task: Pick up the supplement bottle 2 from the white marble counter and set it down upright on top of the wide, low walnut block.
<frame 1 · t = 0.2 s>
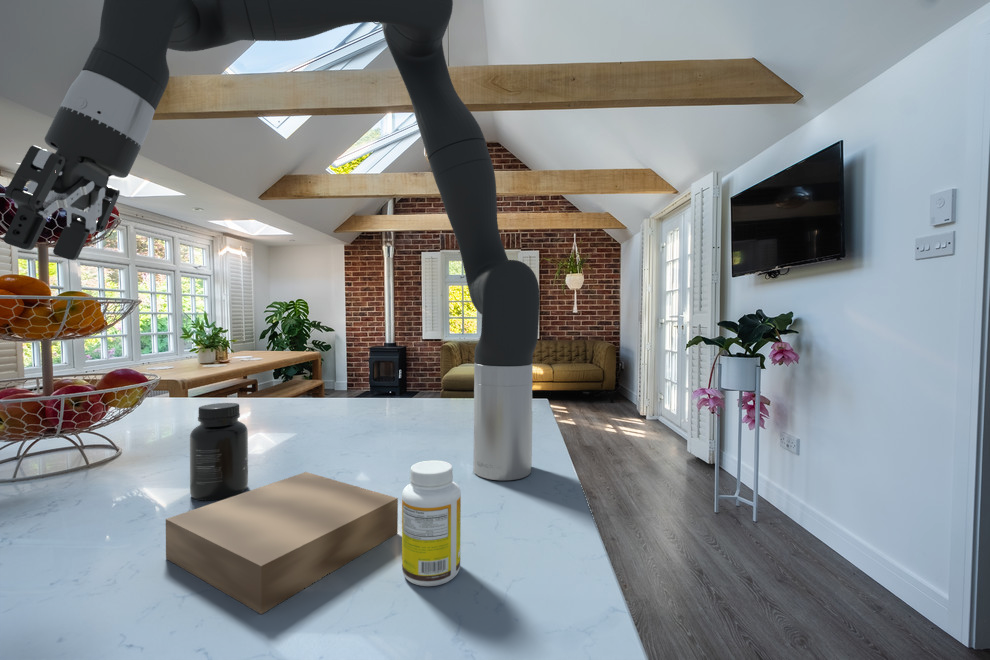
hand: (42, 252, 50), 31 cm above the counter, tool tilted 20°, fingers open, 8 cm apart
supplement bottle 2: (431, 574, 42), on the counter
walnut block: (288, 545, 47), on the counter
supplement bottle: (219, 493, 61), on the counter
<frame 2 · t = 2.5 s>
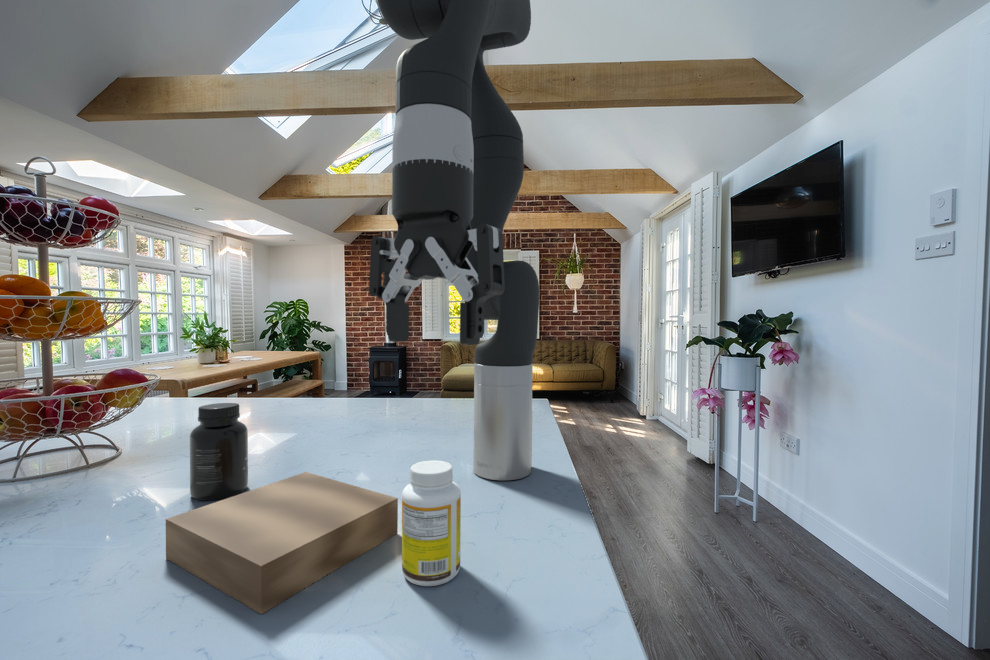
hand: (432, 342, 42), 22 cm above the counter, tool pointing down, fingers open, 8 cm apart
nothing on the counter moved.
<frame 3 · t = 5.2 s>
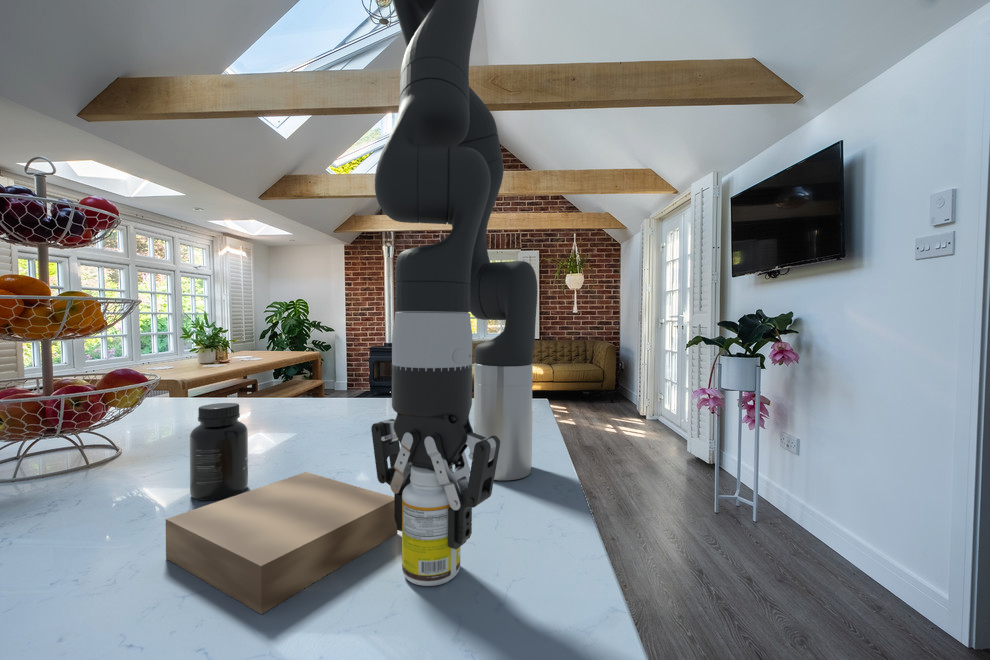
hand: (431, 535, 42), 4 cm above the counter, tool pointing down, fingers closed on supplement bottle 2, 5 cm apart
supplement bottle 2: (431, 573, 42), on the counter, touching gripper
everything else where it was.
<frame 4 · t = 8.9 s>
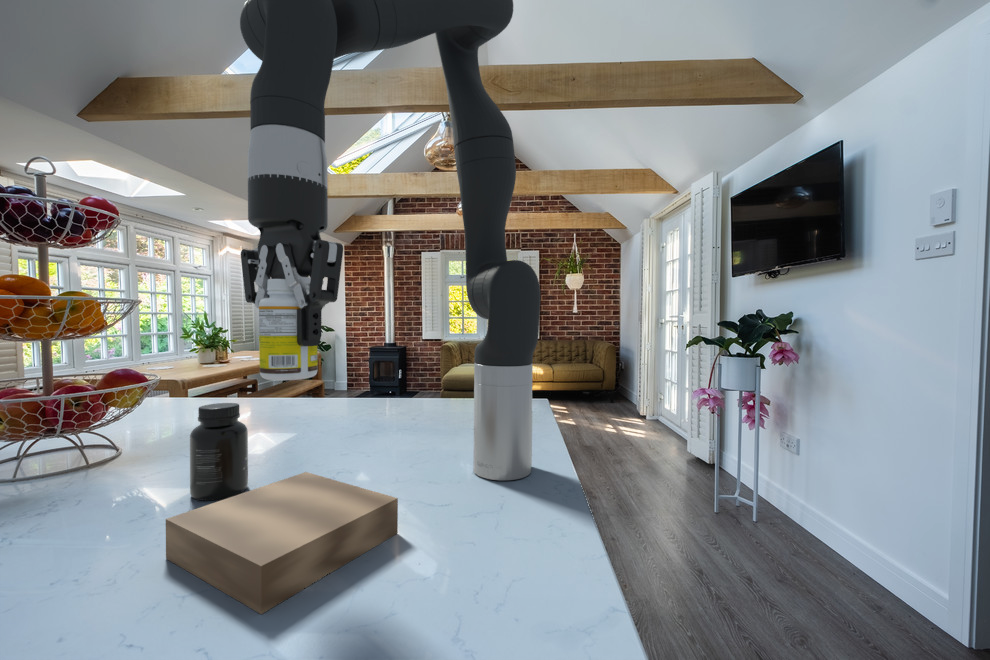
hand: (289, 344, 46), 21 cm above the counter, tool pointing down, fingers closed on supplement bottle 2, 5 cm apart
supplement bottle 2: (289, 379, 47), point 18 cm above the counter, touching gripper
everything else where it was.
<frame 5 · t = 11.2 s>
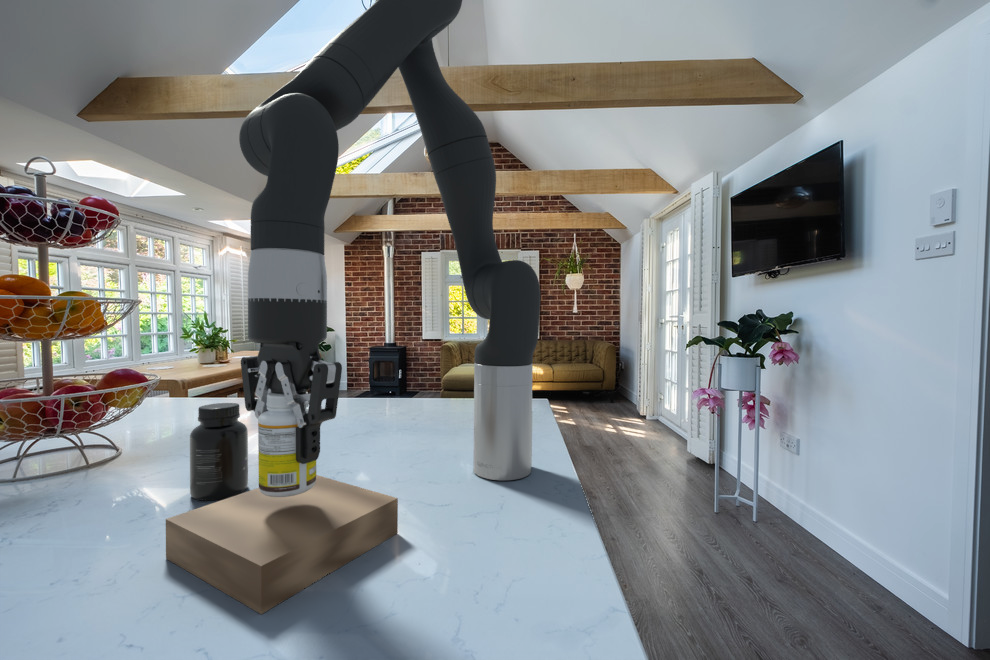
hand: (288, 455, 47), 10 cm above the counter, tool pointing down, fingers closed on supplement bottle 2, 5 cm apart
supplement bottle 2: (287, 491, 47), point 6 cm above the counter, touching gripper
everything else where it was.
when the fingers open (8 cm above the counter, at t = 13.0 s): supplement bottle 2 stays where it is, resting on walnut block.
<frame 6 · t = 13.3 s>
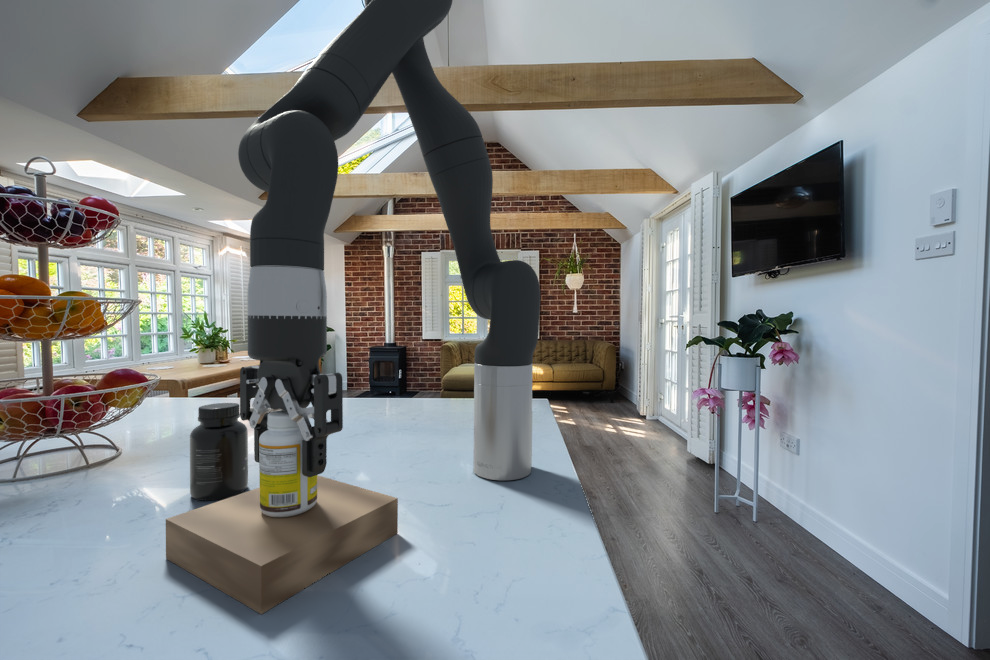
hand: (288, 467, 47), 8 cm above the counter, tool pointing down, fingers open, 7 cm apart
supplement bottle 2: (288, 509, 47), point 4 cm above the counter, touching walnut block
everything else where it was.
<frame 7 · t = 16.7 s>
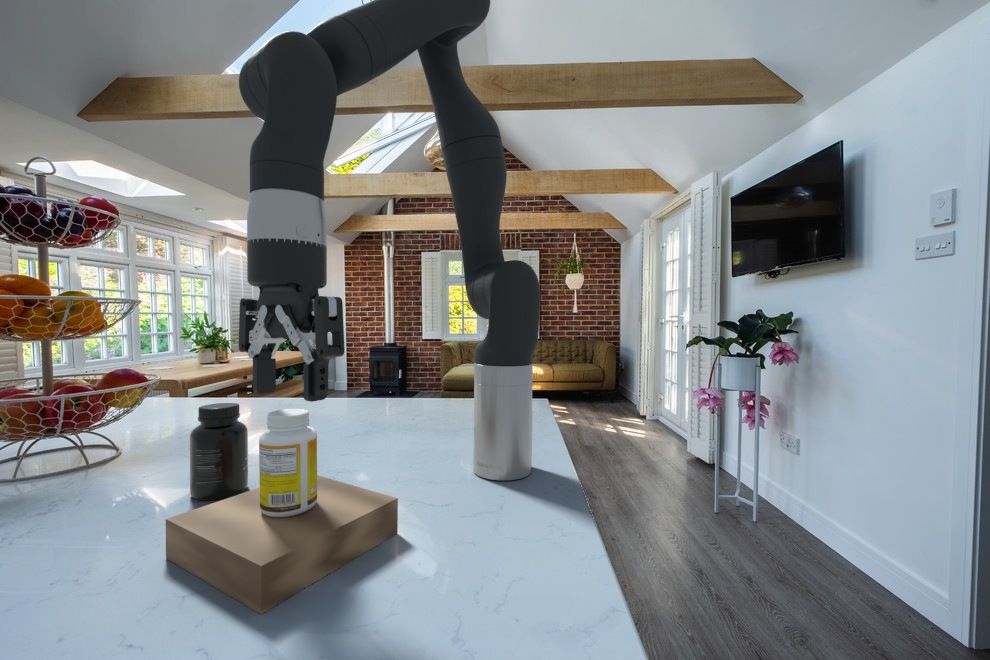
hand: (288, 396, 47), 16 cm above the counter, tool pointing down, fingers open, 8 cm apart
nothing on the counter moved.
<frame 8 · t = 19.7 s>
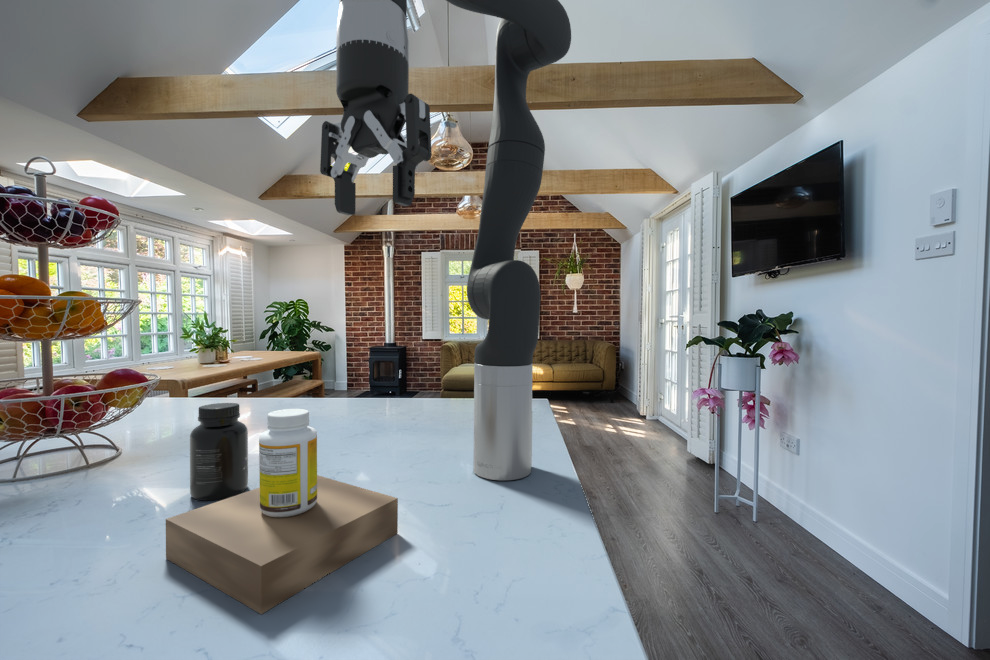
hand: (372, 209, 48), 36 cm above the counter, tool pointing down, fingers open, 8 cm apart
nothing on the counter moved.
at the end: supplement bottle 2 inside the target area on the walnut block (0.0 cm from its centre), point 3.8 cm above the walnut block's base; supplement bottle 2 tilted 0°; the gripper is holding nothing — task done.
